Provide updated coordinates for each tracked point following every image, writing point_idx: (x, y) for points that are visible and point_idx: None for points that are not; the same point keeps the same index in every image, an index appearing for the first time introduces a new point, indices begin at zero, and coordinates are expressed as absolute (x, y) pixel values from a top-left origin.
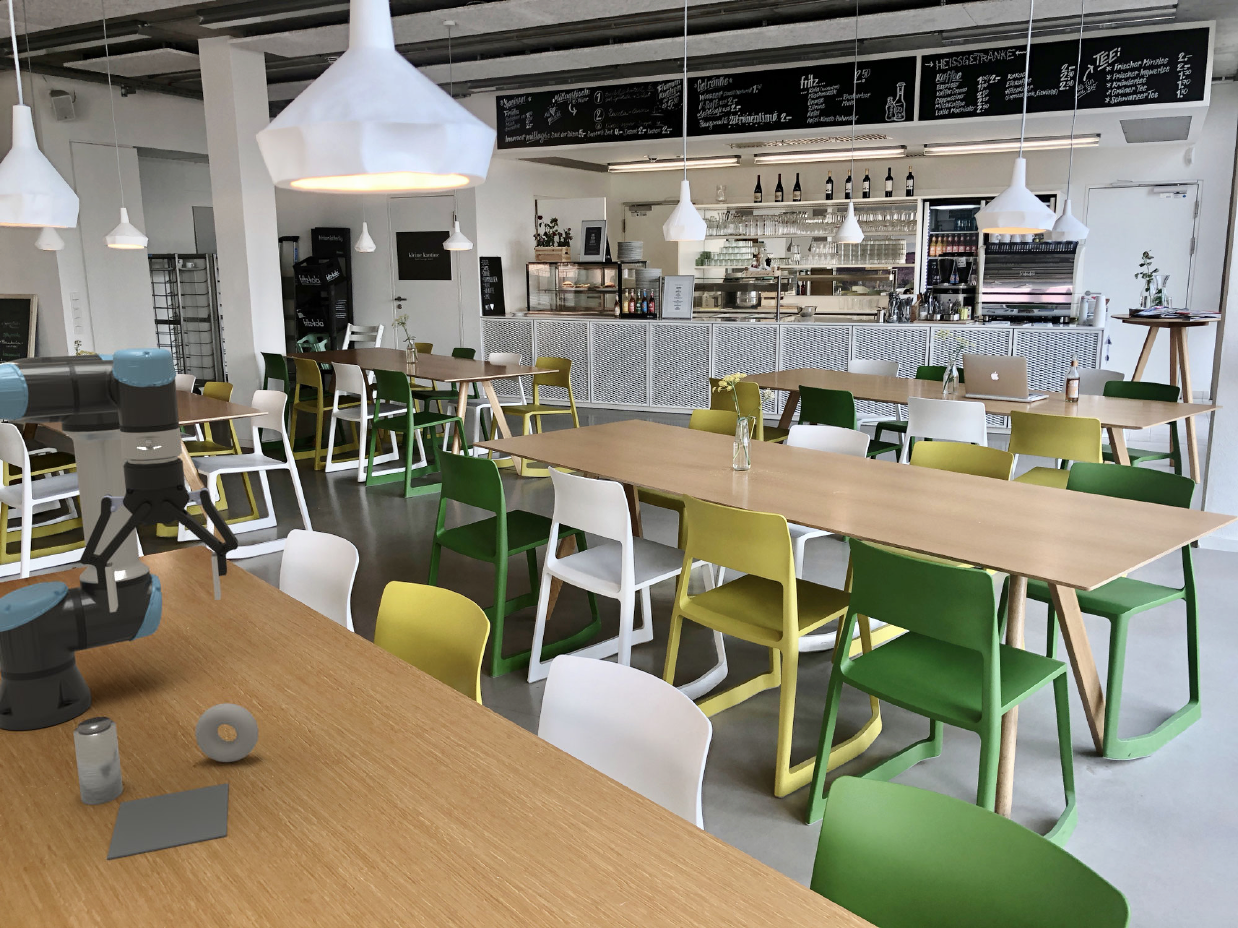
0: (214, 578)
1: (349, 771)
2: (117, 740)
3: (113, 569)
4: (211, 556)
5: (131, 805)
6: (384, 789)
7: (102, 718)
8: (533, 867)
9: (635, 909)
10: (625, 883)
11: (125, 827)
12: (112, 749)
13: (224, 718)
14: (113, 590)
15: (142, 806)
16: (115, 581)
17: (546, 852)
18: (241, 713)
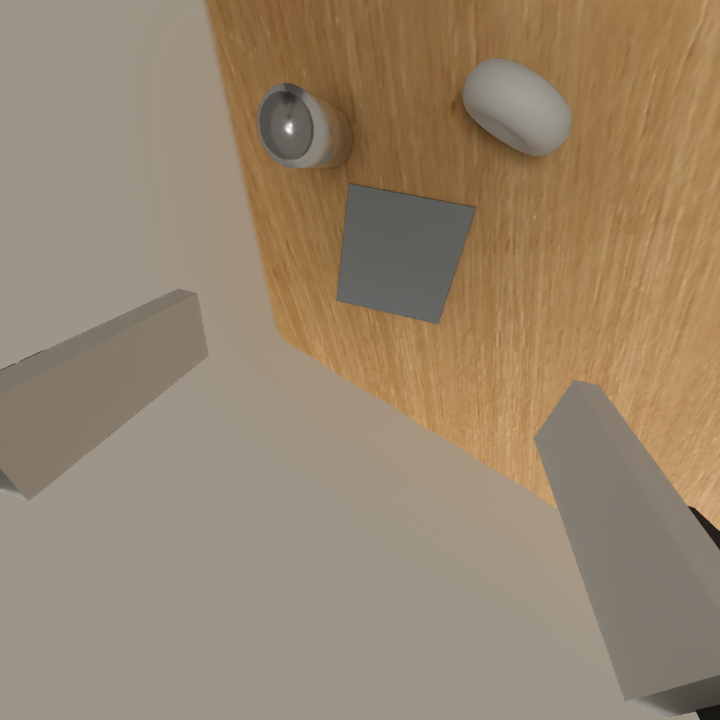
0: (571, 528)
1: (625, 265)
2: (330, 131)
3: (30, 413)
4: (641, 697)
5: (360, 201)
6: (624, 332)
7: (296, 107)
8: None
9: None
10: None
11: (352, 251)
12: (325, 157)
13: (512, 130)
14: (146, 403)
15: (371, 211)
16: (104, 342)
17: None
18: (546, 138)
